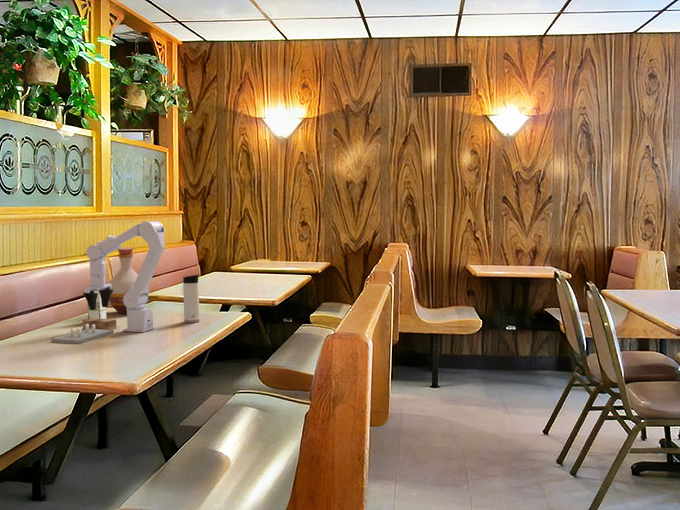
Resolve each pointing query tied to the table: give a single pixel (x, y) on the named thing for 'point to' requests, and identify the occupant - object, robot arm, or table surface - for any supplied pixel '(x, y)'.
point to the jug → (122, 280)
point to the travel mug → (191, 298)
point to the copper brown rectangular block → (100, 323)
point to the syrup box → (97, 309)
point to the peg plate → (82, 335)
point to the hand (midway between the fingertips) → (98, 308)
